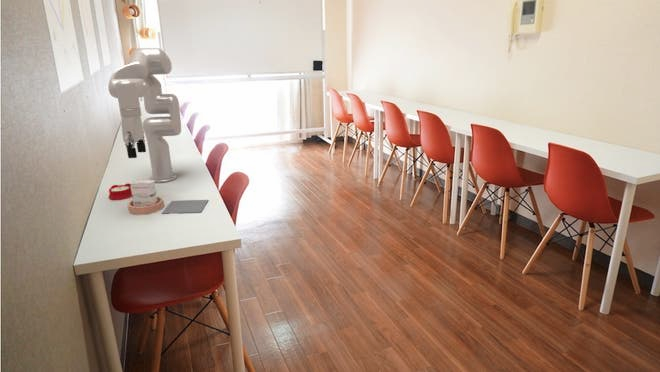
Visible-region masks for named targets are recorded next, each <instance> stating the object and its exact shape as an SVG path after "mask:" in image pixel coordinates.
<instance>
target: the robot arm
mask: <svg viewBox="0 0 660 372" xmlns="http://www.w3.org/2000/svg"><path fill="white" fill-rule="evenodd" d="M172 68H173V65H172V61H171V59H170V57H169V56H168V55H167V53H166V52H165V51H164V50H163V49H162V48H157V47H153V48H151V47H148V48H147V47H146V48H145V47H144V48H143V47H142V48H140V47H139V48H135V49H134V50H133V51H132V52H131V54H130V58H129V60H128V62H127V64H126V65H124V66H122V67H120V68H119V69H115V71H114V72H112V74H111V75H110V79H109V81H108V92H109V95H111V96H112V97H113V98H114V99H117V101H118V106H119V107H118V108H119V115H120V118H121V132H122V133H121V135H122V140H123V142H124V145H125V148H126V152H127V157H128V159H136V158H137V157H138V155H137V153H146V151H147V150H146V149H147V148H146V143H147V146H148V154H149V161H150V168H151V173H152V176H151V177H149V180H154V182H155V184H156V183H159V184H161V183H162V184H163V183H168V182H172V181H174V180H176V179H177V174H175V173H173V166H172V160H171V159H172V158H171V153H170V145H169V143H168V141H167V140H166V139H165V138H164V137H173V136H174V137H175V136H179V135H180V134H181V132H182V120H181V109H180V101H179V99H178V97H177V95H175V94H173V93H163V91H162V84H161V82H160V81H159V79H158V78H157V77H156V76H155V75H168V74H170V73H171V72H172ZM140 98H143V105H144V110H145V112H146V113H147V114H149V115H170V116H151V117H147V118H145V119H144V120H143V122H142V109H141V103H140ZM145 138H146V140H145ZM146 141H147V142H146ZM145 142H146V143H145ZM135 145H136V147H135Z"/></svg>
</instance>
